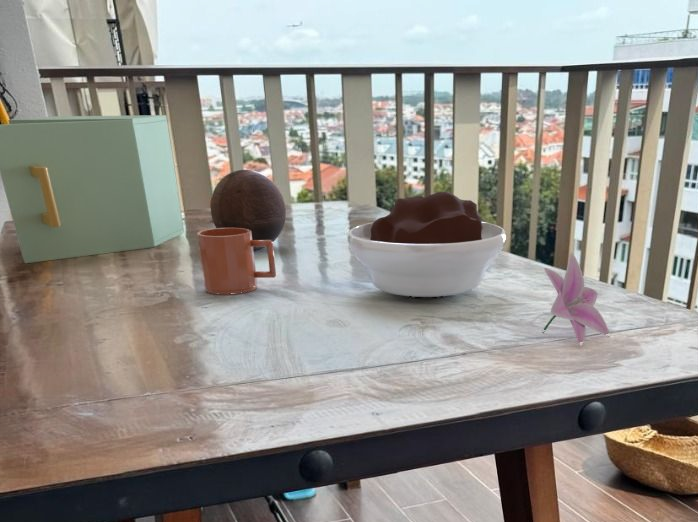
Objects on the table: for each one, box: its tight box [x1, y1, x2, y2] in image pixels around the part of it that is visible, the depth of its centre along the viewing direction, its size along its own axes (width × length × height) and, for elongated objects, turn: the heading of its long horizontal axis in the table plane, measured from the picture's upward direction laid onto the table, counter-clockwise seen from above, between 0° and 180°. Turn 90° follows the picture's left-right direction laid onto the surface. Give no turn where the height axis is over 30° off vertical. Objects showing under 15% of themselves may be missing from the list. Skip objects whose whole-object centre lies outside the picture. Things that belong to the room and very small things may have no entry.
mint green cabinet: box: [0, 120, 155, 264], centre depth 145 cm, size 7×26×24 cm, turn 127°
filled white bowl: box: [347, 191, 507, 299], centre depth 119 cm, size 25×25×15 cm
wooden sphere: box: [210, 169, 287, 251], centre depth 153 cm, size 15×15×15 cm
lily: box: [542, 252, 611, 348], centre depth 99 cm, size 12×12×10 cm
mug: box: [196, 227, 277, 296], centre depth 125 cm, size 12×9×9 cm
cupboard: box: [7, 114, 185, 248], centre depth 163 cm, size 18×26×24 cm
